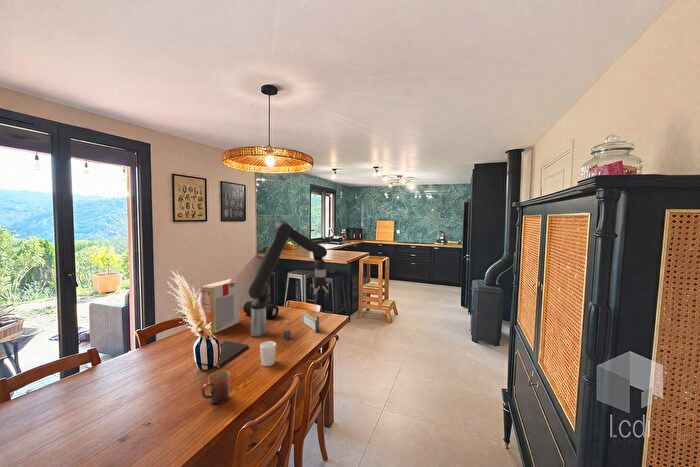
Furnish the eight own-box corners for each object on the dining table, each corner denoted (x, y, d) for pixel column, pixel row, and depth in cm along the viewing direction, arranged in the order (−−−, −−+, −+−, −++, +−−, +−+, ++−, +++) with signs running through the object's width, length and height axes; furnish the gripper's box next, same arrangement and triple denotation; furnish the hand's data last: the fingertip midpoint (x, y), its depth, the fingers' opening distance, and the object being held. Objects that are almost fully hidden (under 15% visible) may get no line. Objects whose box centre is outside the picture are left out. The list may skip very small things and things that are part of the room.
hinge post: (315, 333, 187) (316, 318, 186) (314, 331, 189) (315, 316, 188) (319, 332, 187) (319, 317, 187) (318, 331, 190) (318, 316, 189)
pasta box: (230, 320, 205) (230, 279, 203) (239, 322, 202) (238, 280, 200) (202, 332, 185) (201, 286, 182) (211, 334, 181) (210, 287, 179)
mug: (222, 390, 125) (222, 367, 125) (235, 397, 121) (235, 374, 120) (195, 405, 115) (195, 381, 115) (208, 414, 111) (208, 388, 110)
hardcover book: (193, 363, 148) (193, 359, 148) (225, 344, 170) (225, 340, 170) (219, 369, 143) (219, 364, 143) (248, 348, 165) (248, 344, 165)
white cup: (279, 361, 151) (279, 342, 150) (268, 368, 144) (268, 349, 143) (267, 357, 154) (267, 339, 153) (256, 364, 147) (256, 345, 146)
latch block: (284, 339, 176) (284, 331, 176) (283, 337, 179) (283, 330, 178) (290, 338, 178) (290, 330, 177) (289, 337, 180) (289, 329, 180)
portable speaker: (279, 316, 216) (279, 303, 215) (271, 320, 206) (271, 307, 206) (251, 311, 224) (251, 299, 223) (242, 316, 215) (242, 302, 214)
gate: (317, 330, 190) (317, 319, 189) (314, 331, 189) (314, 320, 188) (304, 321, 205) (304, 311, 204) (301, 322, 204) (301, 312, 203)
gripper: (311, 277, 190) (311, 301, 192) (331, 275, 195) (332, 299, 196) (308, 275, 197) (309, 298, 199) (329, 273, 202) (329, 296, 203)
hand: (320, 298), depth 198 cm, fingers open, 8 cm apart
